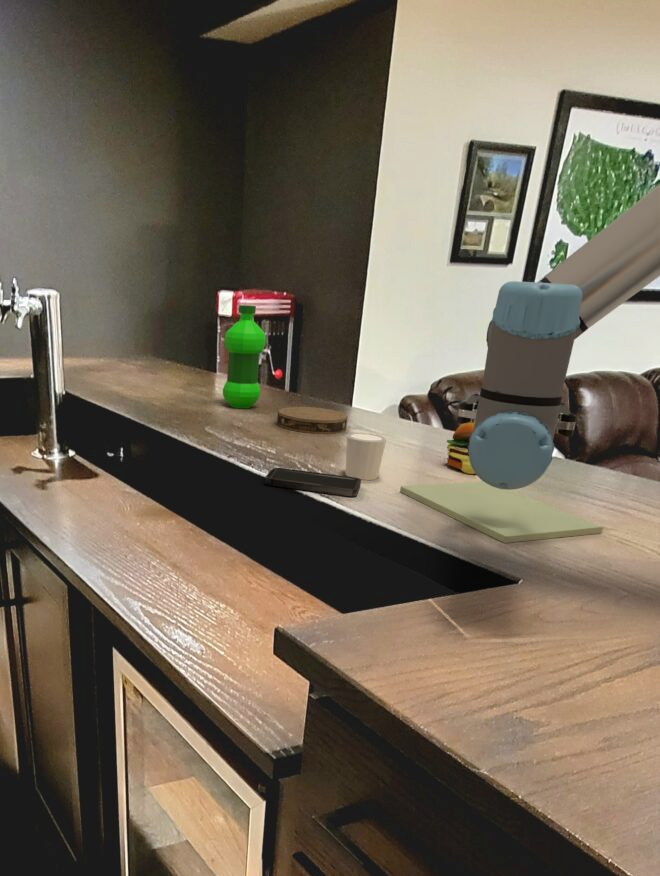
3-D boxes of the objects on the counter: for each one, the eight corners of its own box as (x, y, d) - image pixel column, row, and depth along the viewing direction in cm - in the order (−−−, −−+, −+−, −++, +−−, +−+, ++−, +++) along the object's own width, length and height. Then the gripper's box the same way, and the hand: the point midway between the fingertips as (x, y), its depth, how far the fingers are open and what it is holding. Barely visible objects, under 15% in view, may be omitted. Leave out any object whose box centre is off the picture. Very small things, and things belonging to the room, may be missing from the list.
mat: (601, 533, 104) (603, 526, 104) (504, 543, 98) (505, 536, 98) (486, 486, 125) (487, 480, 125) (399, 491, 119) (400, 486, 119)
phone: (274, 467, 125) (361, 478, 121) (273, 473, 125) (361, 484, 121) (263, 478, 117) (356, 490, 113) (263, 484, 118) (355, 497, 114)
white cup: (333, 473, 127) (338, 434, 125) (357, 468, 132) (362, 430, 130) (366, 483, 123) (371, 443, 120) (389, 477, 127) (394, 438, 125)
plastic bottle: (268, 407, 186) (276, 307, 178) (241, 411, 179) (249, 307, 171) (239, 401, 193) (246, 304, 185) (212, 405, 185) (218, 304, 177)
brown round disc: (316, 417, 177) (317, 405, 176) (360, 431, 164) (362, 418, 163) (263, 421, 169) (264, 408, 168) (305, 435, 156) (307, 422, 155)
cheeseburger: (439, 469, 134) (448, 416, 133) (445, 471, 143) (453, 421, 142) (497, 477, 130) (507, 422, 129) (499, 478, 140) (508, 427, 139)
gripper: (429, 449, 86) (449, 418, 106) (590, 472, 80) (579, 435, 100) (439, 386, 83) (458, 367, 104) (606, 404, 77) (592, 380, 98)
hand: (517, 400), depth 102 cm, fingers closed on bottle, 4 cm apart
